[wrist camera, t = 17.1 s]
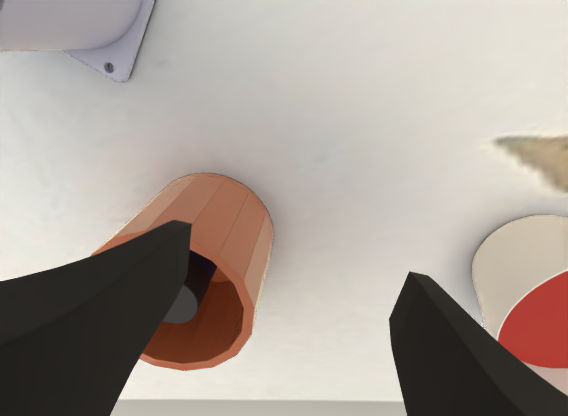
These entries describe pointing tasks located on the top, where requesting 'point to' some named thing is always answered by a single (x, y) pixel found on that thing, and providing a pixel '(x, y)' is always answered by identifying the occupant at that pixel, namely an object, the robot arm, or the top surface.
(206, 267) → the glue stick
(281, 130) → the top surface
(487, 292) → the candle
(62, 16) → the robot arm
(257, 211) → the pen pot
